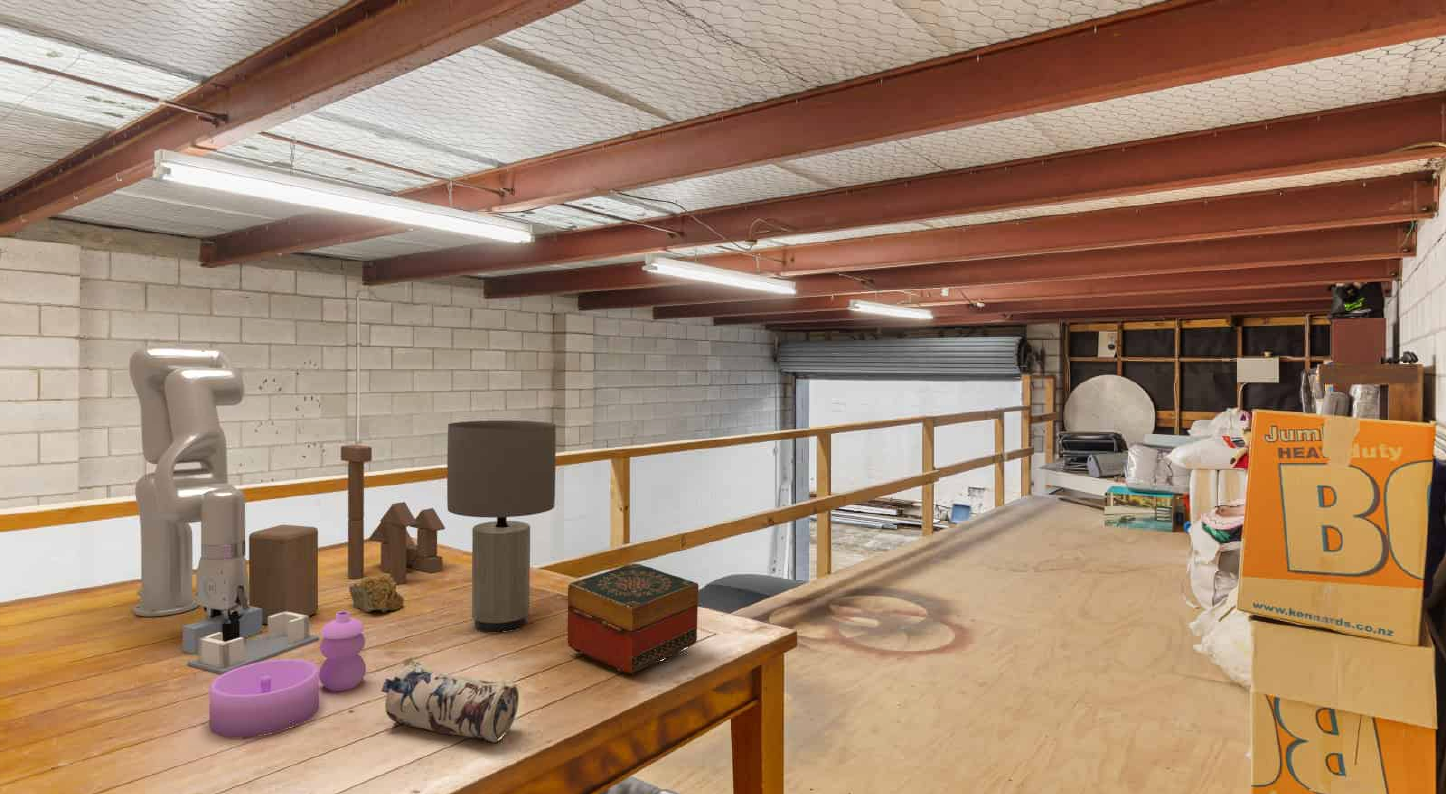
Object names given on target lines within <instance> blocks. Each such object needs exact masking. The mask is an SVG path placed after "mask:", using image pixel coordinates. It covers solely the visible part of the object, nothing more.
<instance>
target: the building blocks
mask: <svg viewBox="0 0 1446 794" xmlns="http://www.w3.org/2000/svg"><path fill="white" fill-rule="evenodd" d="M372 453H373V452H372V446H367V445H366V446H365V445H359V444H348V445H341V447H340V461H343V462H344V461H345V462H347V578H348V579H350V580H357V579H359V580H360V579H361V578H362V579H363V578H364V575H365V569H364V565H365V560H364V559H365V558H364V557H365V541H364V540H365V534H364V533H365V531H364V530H365V525H364V524H365V520H364V518H365V463H366V462H368V463H370V462H372V460H373V457H372V455H373V454H372ZM379 522H380V523H379V524H378V525H377V527H376V528H375V529H374V531H373V532H372V533H371V535H370V536H369V537H368V541H371V542H376V543H380V571H381V572H384V573H389V575H390V576H389V578H392V579H393V580H394V581H395V582H396V586H397V585H403V584H405V583H406V582H407V566H410V565H412V566H411V568H412V570H415V571H419V572H423V573H427V574H433V573H438V572H441V571H443V556H440V555H438V532H439V531H443V530H446V527H445V525H444V523H443V522H442V520H441V518H440V517H439V515H438V513H437V512H436V511H435V508H434V507H431V508H426V509H421V510H420V512H419V513H418V515H416V517H415V516H414V515H413V513H412V512H411V510H410V508H409V507H408V505H407V503H406V502H405V501H401V502H397V503H392V504H391V506H389V508H388V510H387V511H386V512H385V513H384V515H383V517H382V518H381V519H380V521H379ZM407 527H410V528H415V529H417V530H416V531H417V534H416V537H417V538H416V544H415V542H414V540H413V539H412V537H411V535H410V534H409V531H408V530H407Z"/></svg>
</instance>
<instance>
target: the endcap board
mask: <svg viewBox="0 0 1446 794" xmlns="http://www.w3.org/2000/svg"><path fill="white" fill-rule="evenodd" d="M319 640H320V636H317V635H311V634H310V616H306V615H301V614H296V613H291V612H287V611H285V612H282V613H278V614H275V615H272V616H269V617H268V624H267V635H264V636H261V637H259V638H258V637H257V638H255V639H252V640H249V641H247V642H245V638H242V637H239V638H236V639H233V640H230V641H227V642H224V641H223V633H221V632H218V633H215V634H212V635H209V636H205V637H202V638H199V639H198V653H197V656H198V657H197V658H195V659H193V660H190V661H188V662H187V666H188V667H192V668H196V669H200V670H203V671H208V672H210V673H214V674H218V675H222V674H224V673H226V672H228V671H230V670H233V669H235V668H239V667H242V666H245V665H249V664H253V663H258V662H263V661H266V660H267V659H271V658H274V657H275V656H279V655H282V654H284V653H286V652H290V651H292V650H294V649H295V650H296V649H298V648H300V647H304V646H306V645H308V644H311V643H314V642H317V641H319Z"/></svg>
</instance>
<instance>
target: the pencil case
mask: <svg viewBox="0 0 1446 794" xmlns="http://www.w3.org/2000/svg"><path fill="white" fill-rule="evenodd" d="M413 659H414V657H413V656H409V657H407V658H405V659H403V665H404V666H403V668H402V669H400V670H399V671H398V672H397V673H396V674H395V675H394V677H393V679H389V678H385V680H384V682H383V685H382V689H381V690H380V692H382V693H386V698H385V703H384V704H385V705H384V707H385V712H386V714H387V716H388V718H389V719H390V720H391V721H393V722H396V723H399V724H403V725H404V726H405V725H406V726H409V727H413V728H418V729H425V730H430V731H435V732H438V733H444V734H451V735H454V736H463V737H467V738H475V739H476V738H477V739H484V740H486V741H489V742H491V743H495V742H497V741H498V739H499V738H500V737H501V736H502V735H503V734H504V733H506V734H507V733H508V732H509V731H510V729H511V727H512V725H513V723H514V721H515V719H516V716H517V712H518V706H519V701H520V700H519V699H520V698H519V697H520V696H519V695H520V694H519V689H518V687H517V684H516V683H515V682H513V681H511V682H510V681H509V682H508V681H503V680H498V681H487V680H482V679H475V678H474V679H473V678H471V677H470V678H468V677H463V676H456V675H450V674H446V673H442V672H439V671H434V670H431V669H429V668H426V667H424V666H423V664H421V662H420V661H415V662H414V660H413Z"/></svg>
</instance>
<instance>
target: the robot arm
mask: <svg viewBox="0 0 1446 794" xmlns="http://www.w3.org/2000/svg"><path fill="white" fill-rule="evenodd" d="M128 369H129V375H130V380H131V383H132V385H133V388H134V390H135V393H136V395H137V398H138V400H139V403H140V422H141V423H140V427H141V430H140V431H141V447H142V454H143V457H144V459H145V461H147V463H149V464H152V465H156V467H155V470H154V472H150V473H147V474H145V475H143V476H141V477H140V478H139V479H138V480H137V482H136V484H135V488H134V490H135V491H134V495H135V500H136V504H137V509H138V513H139V514H138V515H139V524H140V552H141V554H140V568H141V570H140V572H141V573H140V575H141V578H140V579H141V582H140V583H141V589H139V590H137V591H136V593H135V594H136V596H138V597H140V602H138V603H137V604H135V605H134V606H132V607H133V608H132V613H133V614H134V615H136V616H140V617H163V616H170V615H175V614H180V613H184V612H189V611H191V610H194V609H196V608H198V607H199V606H200V607H202V608H203V610H204V611H205V615H206V616H205V620H206V619H209V618H213V617H216V616H220V615H223V614H224V620H225V624H222V633H223V641H224V642H227V641H230V640H233V639H236V638H239V637H240V620H241V619H242V616H243V614H245V613H246V612H248V611H249V571H248V566H247V565H248V564H247V561H246V560H247V559H246V499H245V498H246V495H245V493H244V491H242V490H241V489H237V487H236V486H234V485H233V484H230V483H228V482H229V480H228V479H229V477H228V453H227V452H228V449H227V438H226V433H225V432H224V429H223V428H222V426H220V422H219V421H220V420H219V416H218V415H219V414H218V409H217V406H218V407H219V406H222V407H223V406H237V405H239V404H240V403H241V402H242V401H243V398H244V396H245V384H244V380H243V376H242V374H241V372H240V371H239V370H238V368H237V367H236V366H235V363H234V362H232V360H230V358H229V357H228V356H227V355H226V354H225V353H224V352H223V351H222V350H220V349H218V348H214V347H203V346H202V347H201V346H198V347H197V346H193V347H192V346H175V345H174V346H172V345H171V346H170V345H167V346H166V345H163V346H161V345H160V346H159V345H156V346H146V347H141V348H139V349H136V350H135V351H133V353H132V355H131V356H130V359H129V367H128ZM191 463H199V465H200V467H197V468H186V469H185V468H182V469H181V468H180V469H179V468H178V469H175V467H176V465H179V464H180V465H181V464H191ZM199 522H200V543H201V544H200V556H201V557H199V561H198V565H197V570H196V571H197V572H196V581H195V595H193V593H194V590H193V588H194V586H193V583H194V582H193V581H194V579H193V578H194V577H193V575H194V574H193V572H194V571H193V564H194V563H193V561H194V560H193V554H194V553H193V530H192V527H191V525H190V524H194V523H199ZM233 611H234V612H233ZM230 612H233V613H232V614H231V615H230Z"/></svg>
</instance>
